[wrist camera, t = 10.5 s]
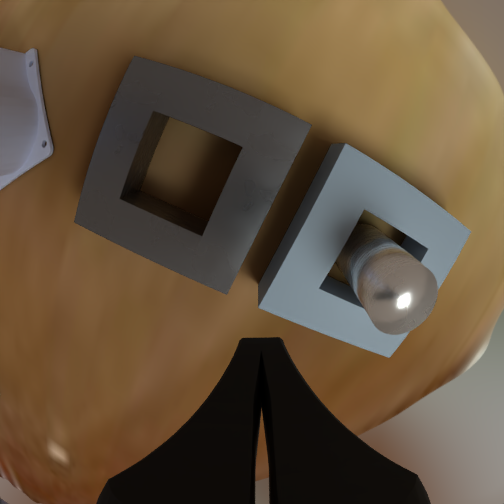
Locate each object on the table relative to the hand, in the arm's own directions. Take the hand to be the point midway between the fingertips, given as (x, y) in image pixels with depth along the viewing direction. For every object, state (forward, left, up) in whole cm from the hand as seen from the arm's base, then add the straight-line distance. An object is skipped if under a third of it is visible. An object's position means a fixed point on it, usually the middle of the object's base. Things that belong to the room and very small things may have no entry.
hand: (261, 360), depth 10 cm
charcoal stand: (-7, -2, -10) cm, 12 cm away
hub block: (+1, +6, -10) cm, 12 cm away
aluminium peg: (+1, +6, -10) cm, 12 cm away
